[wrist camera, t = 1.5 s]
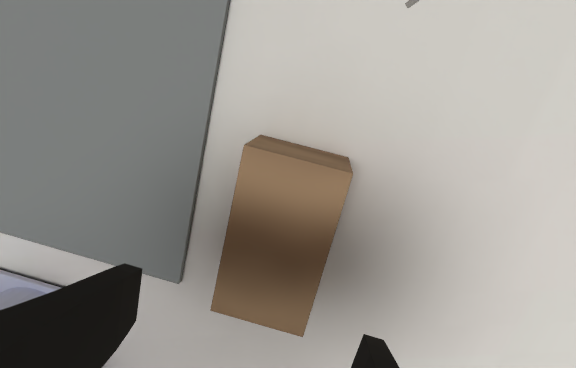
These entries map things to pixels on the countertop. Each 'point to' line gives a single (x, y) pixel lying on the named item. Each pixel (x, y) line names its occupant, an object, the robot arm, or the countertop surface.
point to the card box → (280, 232)
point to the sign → (411, 3)
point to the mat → (106, 124)
